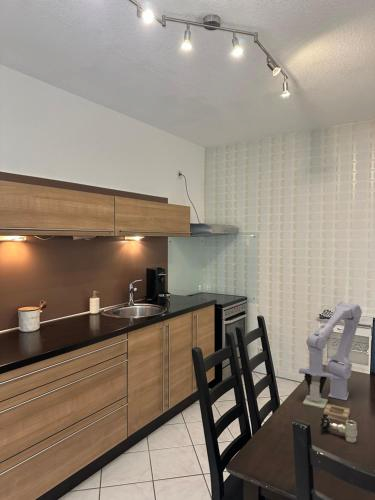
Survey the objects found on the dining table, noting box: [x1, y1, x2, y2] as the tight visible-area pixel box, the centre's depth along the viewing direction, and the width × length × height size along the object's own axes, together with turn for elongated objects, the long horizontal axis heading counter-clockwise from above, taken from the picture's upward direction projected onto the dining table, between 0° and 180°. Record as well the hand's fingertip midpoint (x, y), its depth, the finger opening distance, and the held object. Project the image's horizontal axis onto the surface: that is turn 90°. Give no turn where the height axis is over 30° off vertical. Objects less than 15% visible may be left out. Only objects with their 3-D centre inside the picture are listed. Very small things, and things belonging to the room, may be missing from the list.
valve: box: [319, 414, 358, 443], centre depth 129 cm, size 7×7×12 cm
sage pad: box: [302, 394, 329, 409], centre depth 158 cm, size 9×9×1 cm
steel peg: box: [309, 381, 322, 402], centre depth 157 cm, size 4×4×7 cm
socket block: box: [322, 403, 351, 423], centre depth 146 cm, size 9×9×2 cm
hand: (315, 391), depth 158 cm, fingers closed on steel peg, 4 cm apart
